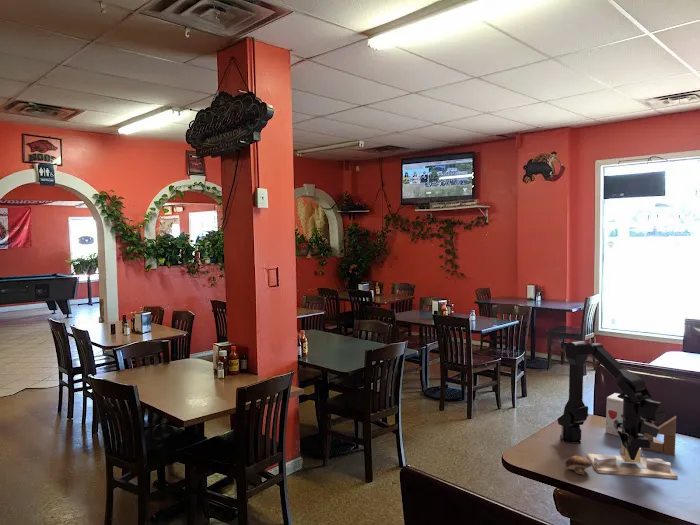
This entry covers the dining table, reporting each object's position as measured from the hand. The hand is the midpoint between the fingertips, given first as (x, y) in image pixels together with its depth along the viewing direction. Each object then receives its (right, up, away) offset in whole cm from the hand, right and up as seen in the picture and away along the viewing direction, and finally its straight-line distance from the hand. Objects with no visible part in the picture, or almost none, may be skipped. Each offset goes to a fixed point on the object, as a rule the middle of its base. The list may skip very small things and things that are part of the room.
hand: (630, 456), depth 180 cm
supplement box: (+13, -2, +30) cm, 33 cm away
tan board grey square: (0, -4, 0) cm, 4 cm away
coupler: (0, -1, 0) cm, 1 cm away
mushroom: (-20, -4, -3) cm, 21 cm away
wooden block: (+18, -3, +13) cm, 22 cm away
